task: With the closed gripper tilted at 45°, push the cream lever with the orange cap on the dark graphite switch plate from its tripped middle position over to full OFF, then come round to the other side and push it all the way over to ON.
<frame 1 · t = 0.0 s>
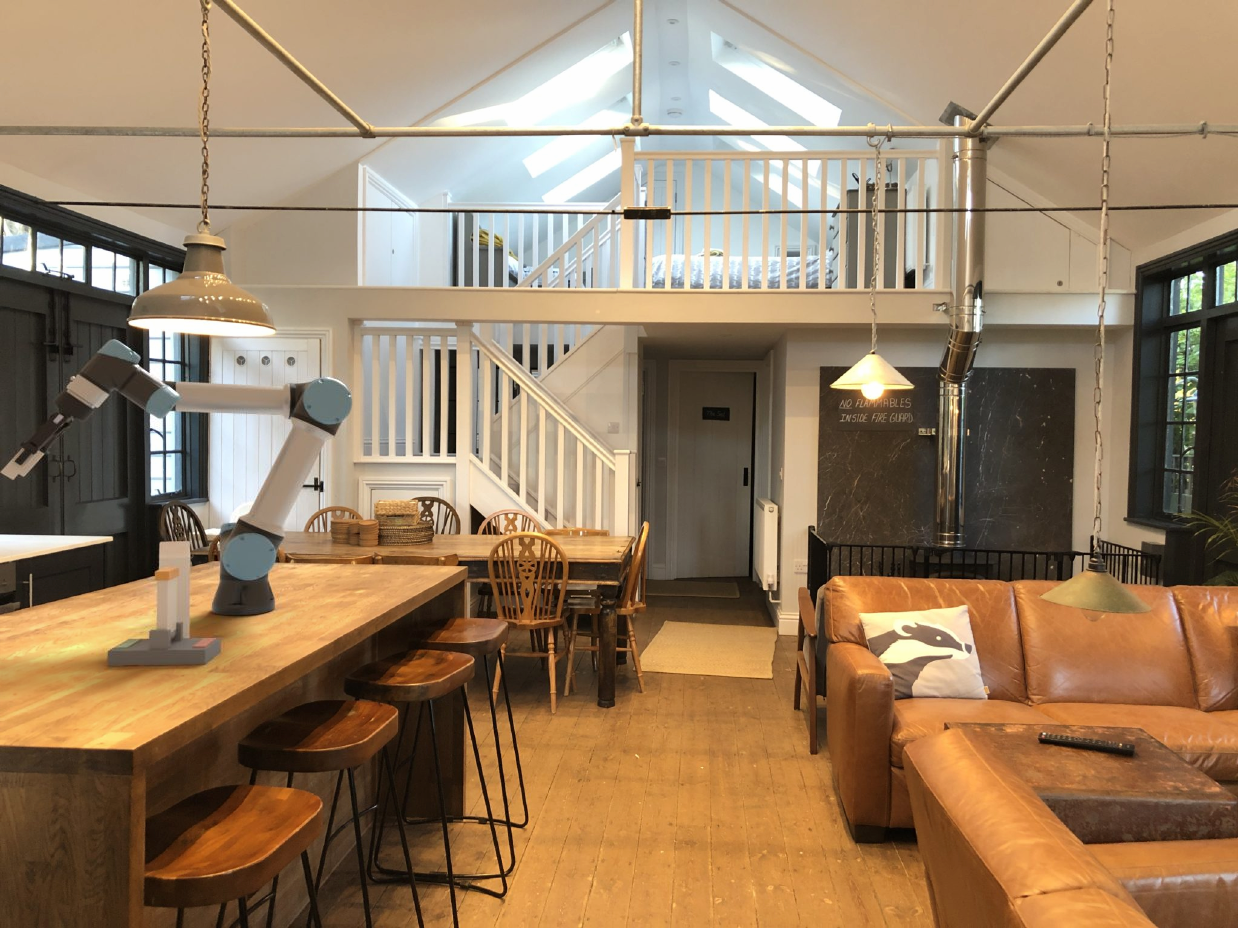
hand: (12, 474, 184), 36 cm above the countertop, tool tilted 35°, fingers open, 13 cm apart
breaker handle: (166, 605, 170), point 11 cm above the countertop, hinge at 0.0°
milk: (173, 640, 186), on the countertop
switch plate: (166, 658, 170), on the countertop
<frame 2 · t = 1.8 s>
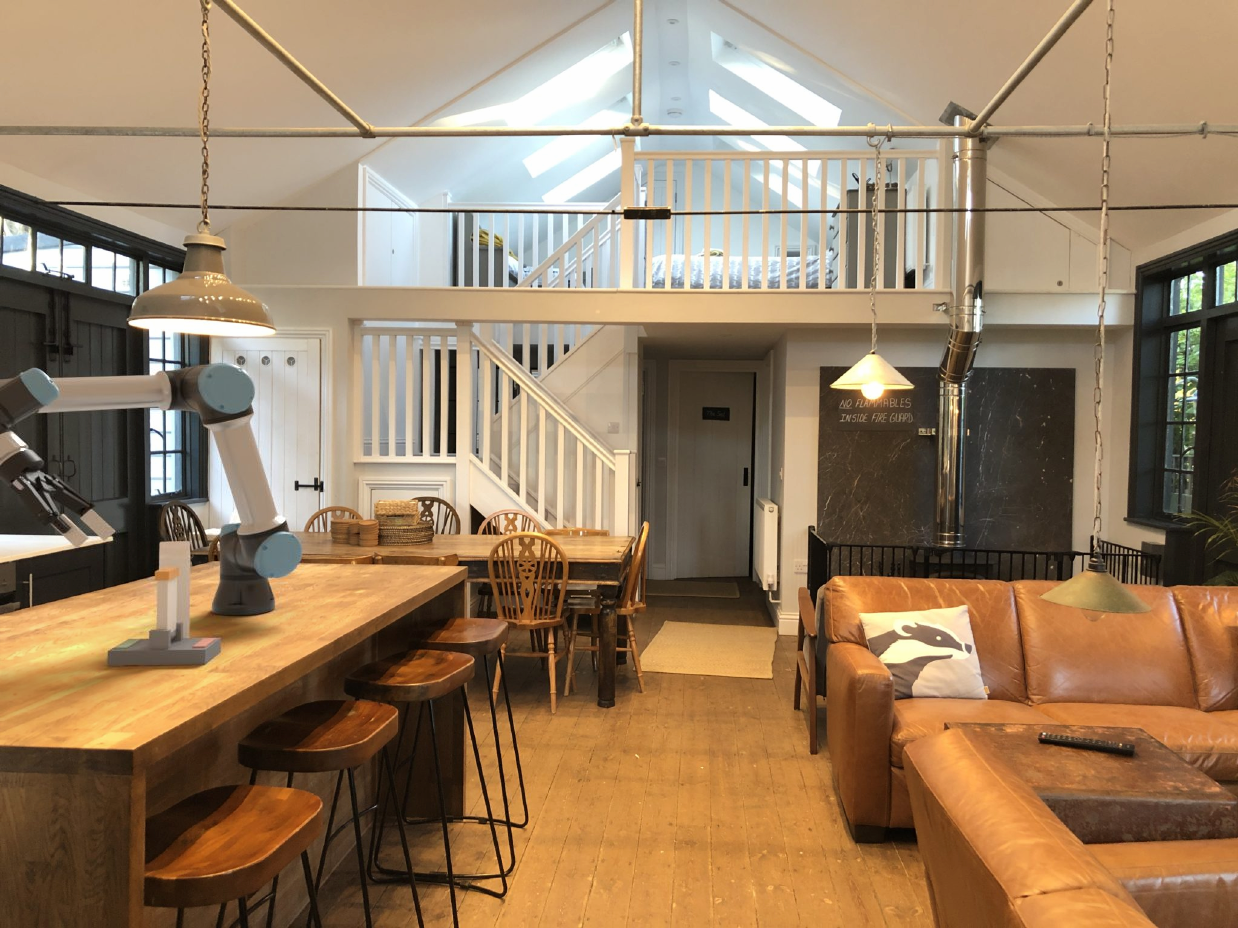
hand: (96, 539, 168), 24 cm above the countertop, tool tilted 45°, fingers open, 11 cm apart
nothing on the countertop moved.
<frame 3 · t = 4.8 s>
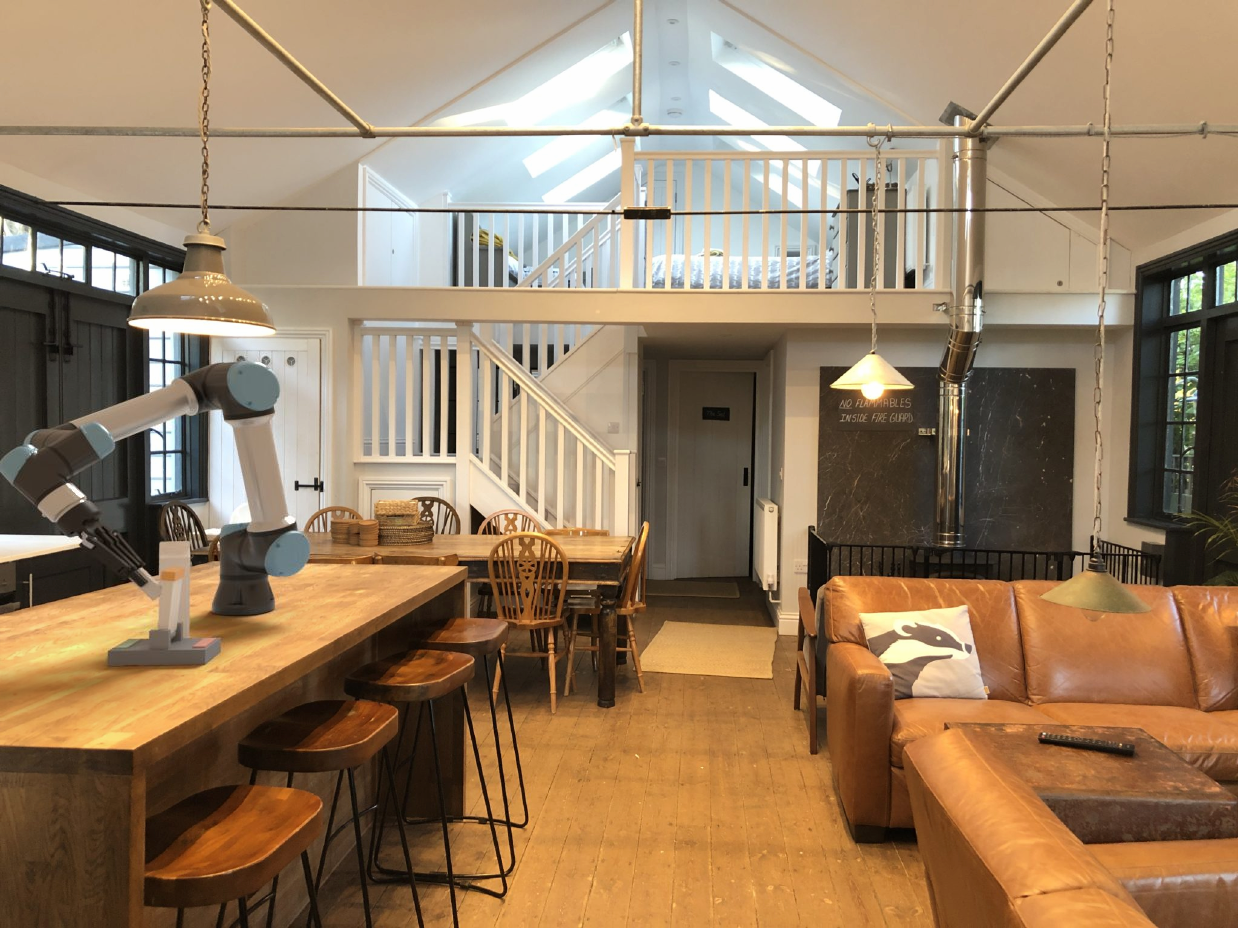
hand: (159, 595, 170), 13 cm above the countertop, tool tilted 45°, fingers closed
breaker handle: (169, 605, 170), point 11 cm above the countertop, hinge at -5.3°, touching gripper
everything else where it was.
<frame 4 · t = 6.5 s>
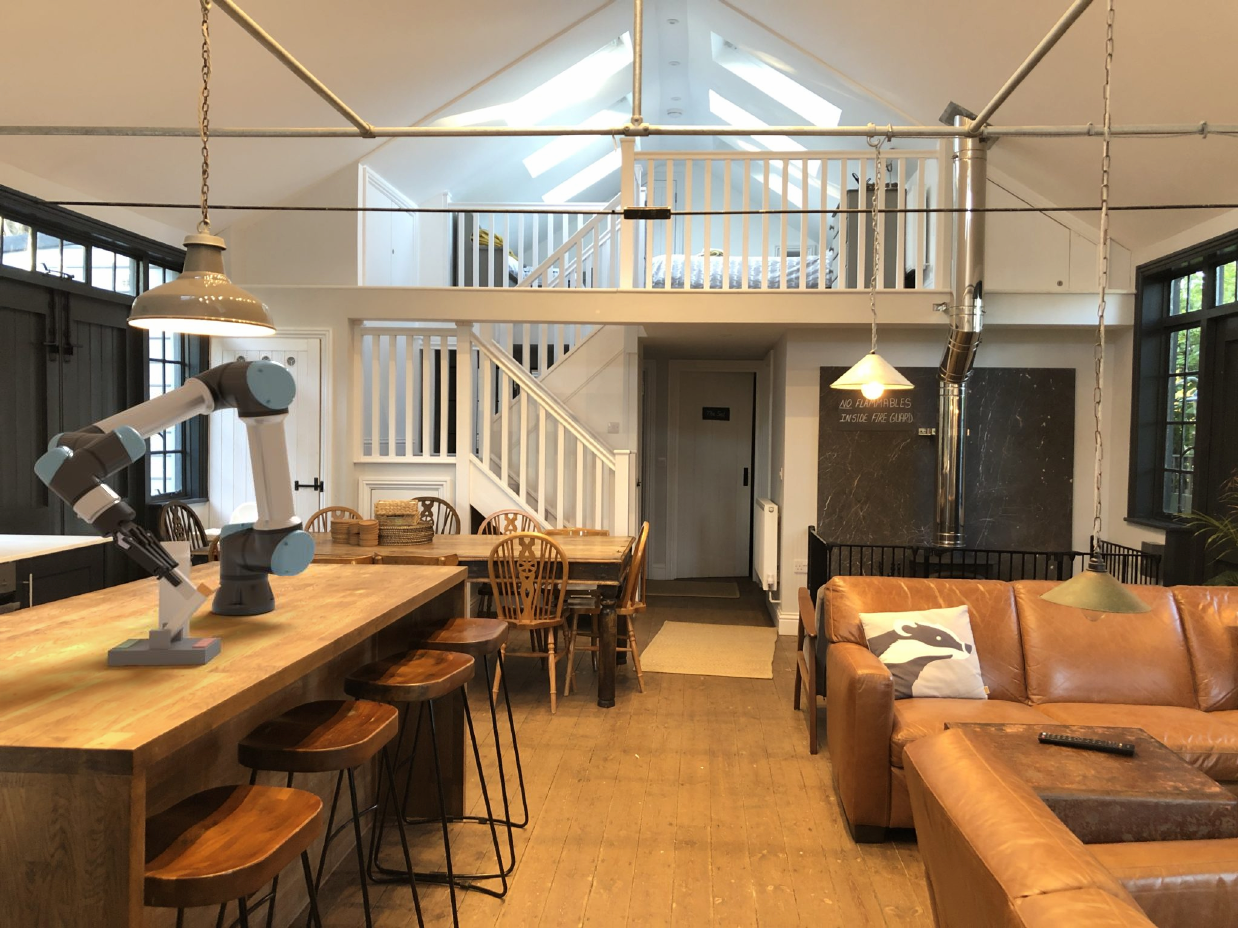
hand: (193, 595, 171), 13 cm above the countertop, tool tilted 45°, fingers closed
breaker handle: (187, 611, 171), point 10 cm above the countertop, hinge at -39.2°, touching gripper
everything else where it was.
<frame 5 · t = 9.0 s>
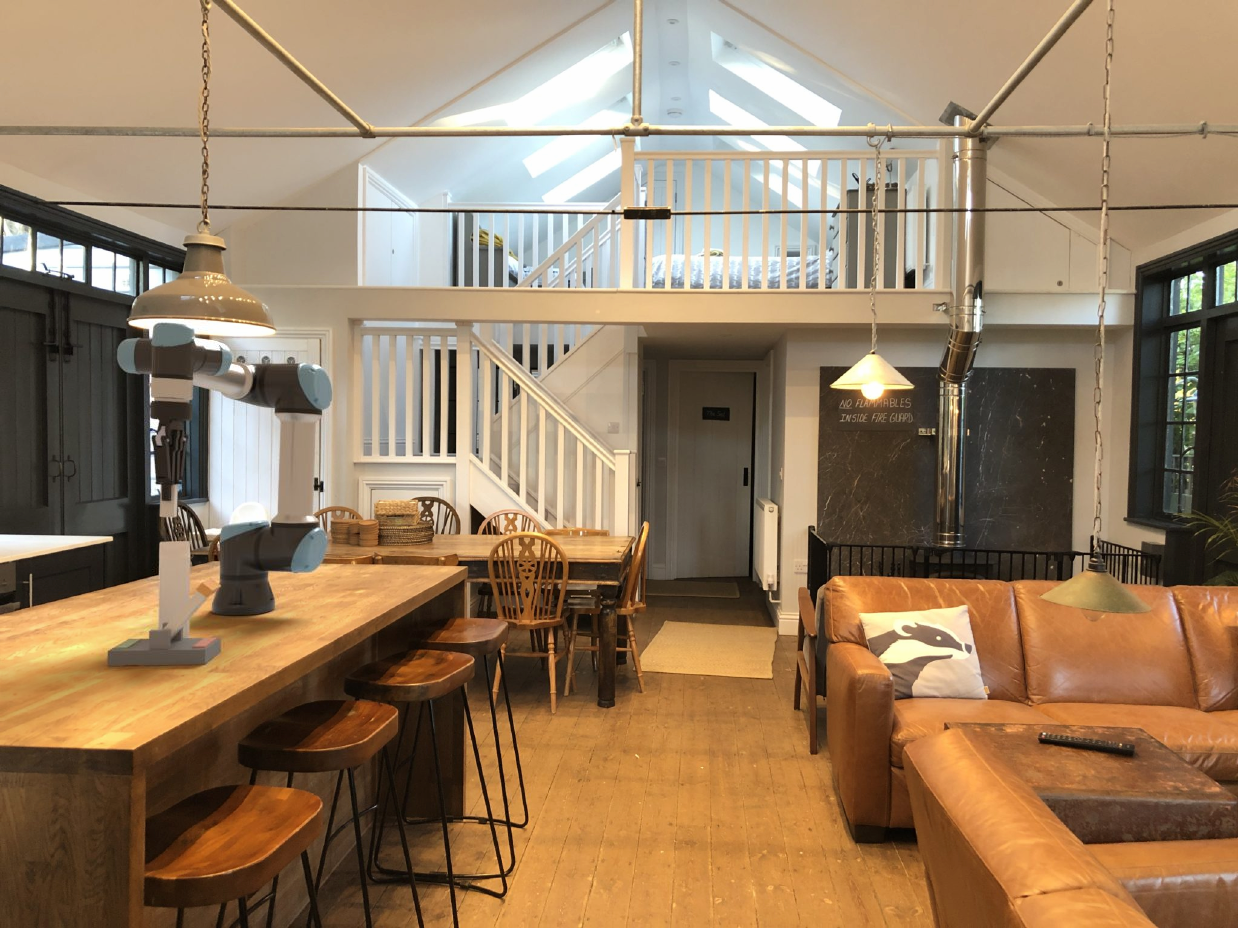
hand: (168, 516, 170), 29 cm above the countertop, tool pointing down, fingers closed
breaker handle: (187, 611, 171), point 10 cm above the countertop, hinge at -39.3°
everything else where it was.
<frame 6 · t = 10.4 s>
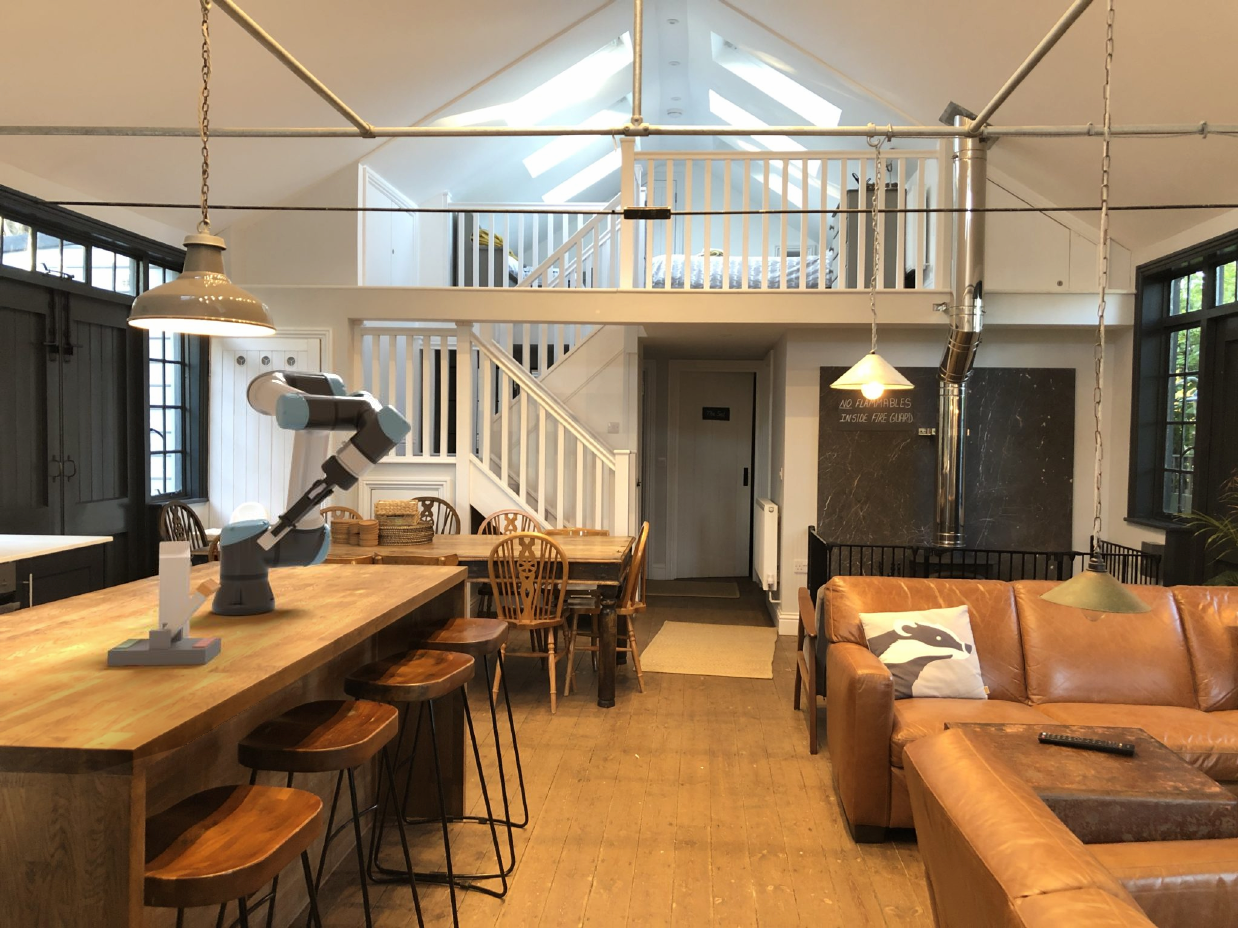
hand: (262, 545, 173), 23 cm above the countertop, tool tilted 45°, fingers closed
nothing on the countertop moved.
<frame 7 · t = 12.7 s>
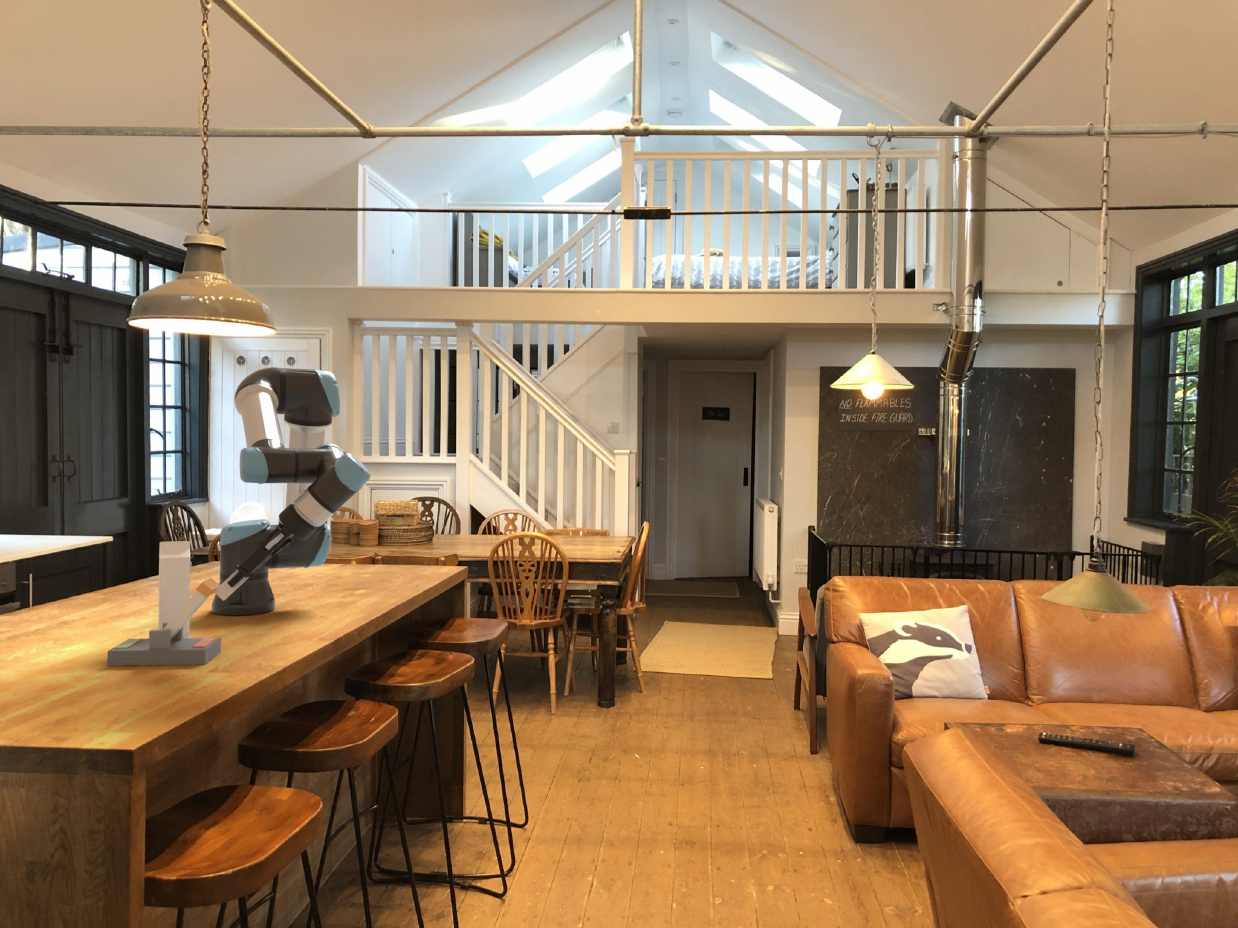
hand: (219, 595, 172), 13 cm above the countertop, tool tilted 45°, fingers closed
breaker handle: (187, 611, 171), point 10 cm above the countertop, hinge at -39.1°, touching gripper
everything else where it was.
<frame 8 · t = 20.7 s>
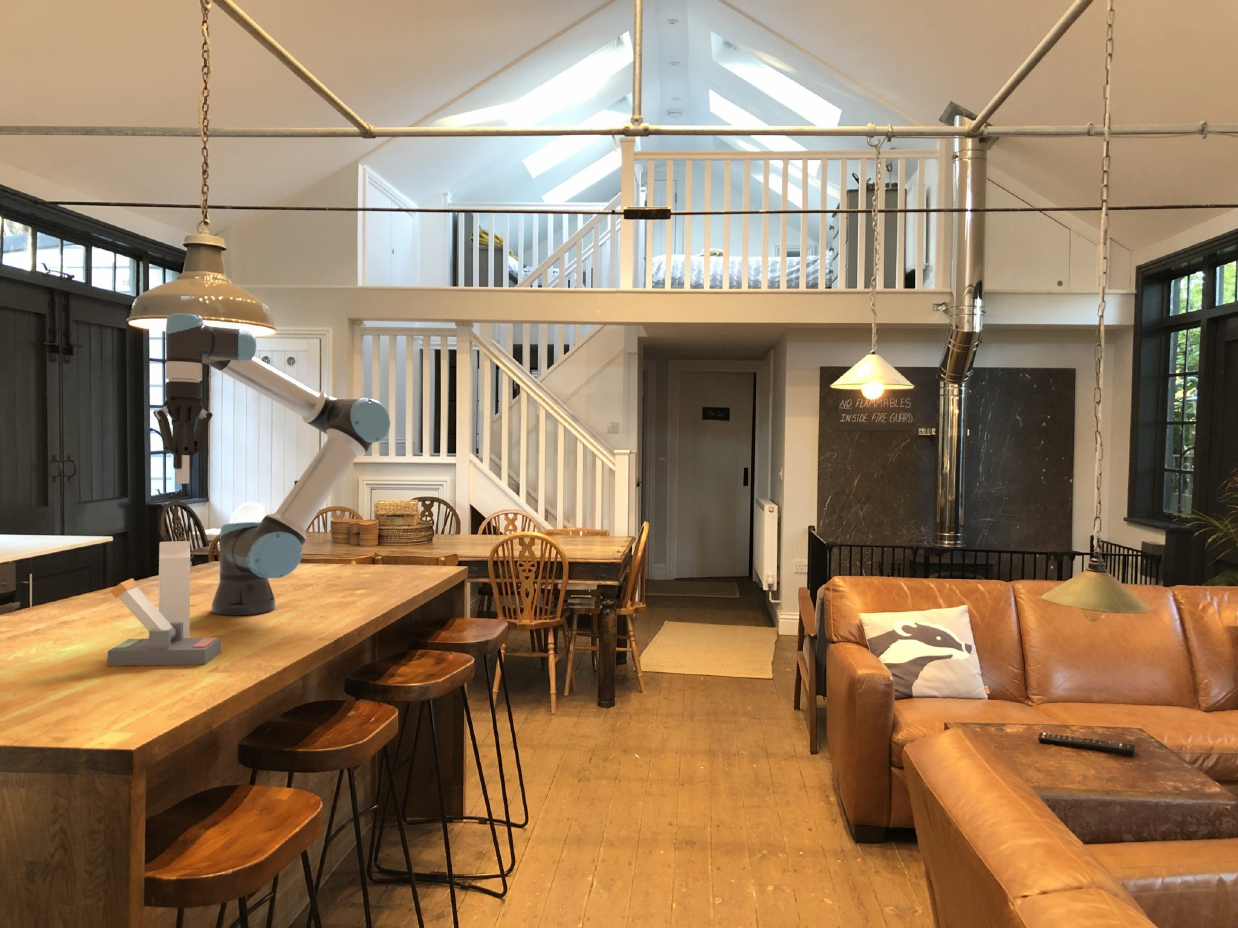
hand: (182, 483, 194), 34 cm above the countertop, tool pointing down, fingers closed
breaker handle: (146, 612, 170), point 10 cm above the countertop, hinge at 39.6°
everything else where it was.
at the end: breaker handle at +40° (first picture: +0°); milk moved 0.2 cm from its start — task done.
